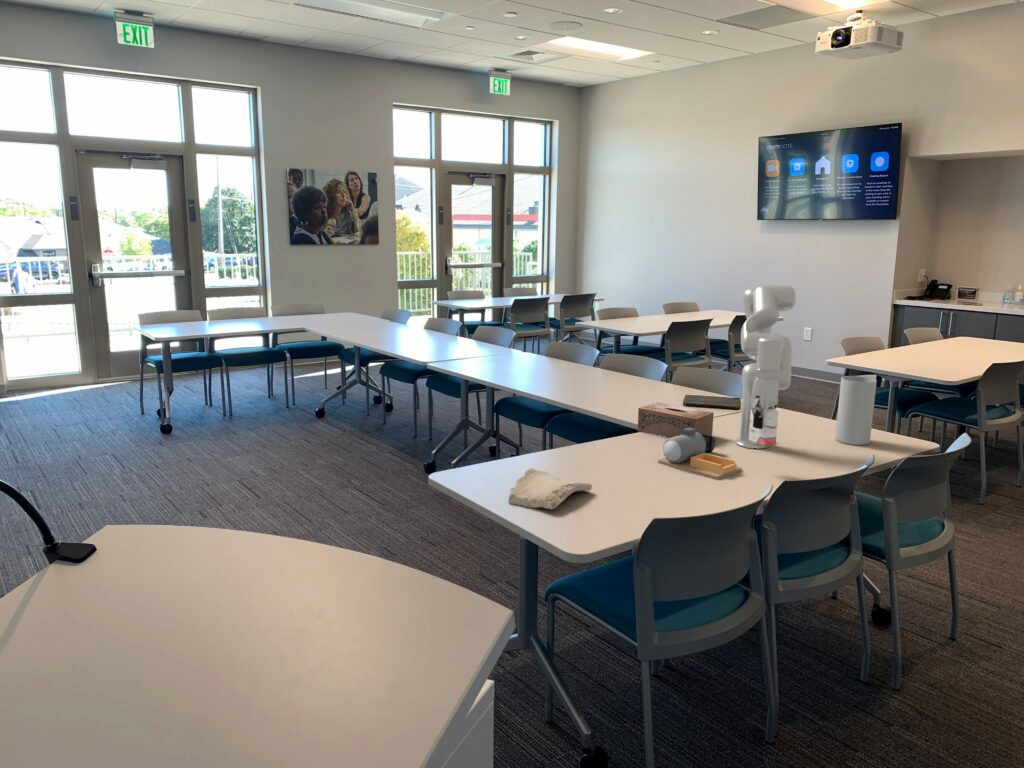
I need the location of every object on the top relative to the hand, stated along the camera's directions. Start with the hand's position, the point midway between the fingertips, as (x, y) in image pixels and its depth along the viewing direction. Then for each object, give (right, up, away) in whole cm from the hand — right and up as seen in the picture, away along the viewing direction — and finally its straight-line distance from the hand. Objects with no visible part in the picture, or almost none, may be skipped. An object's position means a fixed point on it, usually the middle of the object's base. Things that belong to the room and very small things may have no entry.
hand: (763, 425), depth 254 cm
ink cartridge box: (0, -6, +1) cm, 6 cm away
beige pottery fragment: (-74, -21, -23) cm, 80 cm away
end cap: (-15, -11, +27) cm, 33 cm away
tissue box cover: (-19, -6, +51) cm, 55 cm away
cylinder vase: (+49, -9, +43) cm, 66 cm away
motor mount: (-19, -15, +8) cm, 26 cm away
